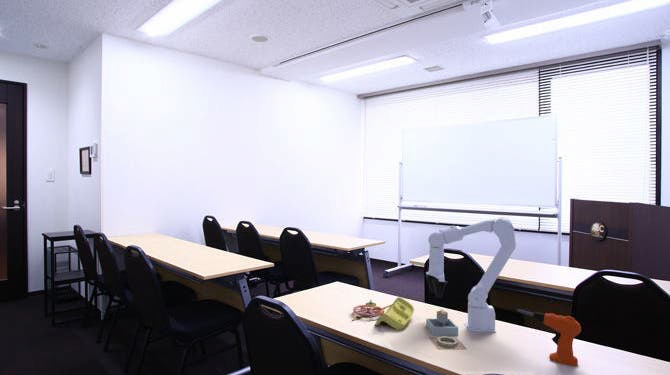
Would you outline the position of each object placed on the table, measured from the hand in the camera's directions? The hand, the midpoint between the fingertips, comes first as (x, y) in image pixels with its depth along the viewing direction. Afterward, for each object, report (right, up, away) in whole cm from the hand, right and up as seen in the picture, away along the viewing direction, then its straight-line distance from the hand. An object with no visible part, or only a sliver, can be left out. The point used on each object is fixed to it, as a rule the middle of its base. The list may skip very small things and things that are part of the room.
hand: (435, 295), depth 152 cm
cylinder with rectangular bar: (-1, -10, -11) cm, 15 cm away
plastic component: (-16, -11, -2) cm, 19 cm away
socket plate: (-2, -10, -23) cm, 25 cm away
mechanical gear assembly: (-24, -11, +9) cm, 28 cm away
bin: (-1, -10, -11) cm, 15 cm away
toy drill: (+27, -11, -32) cm, 43 cm away
